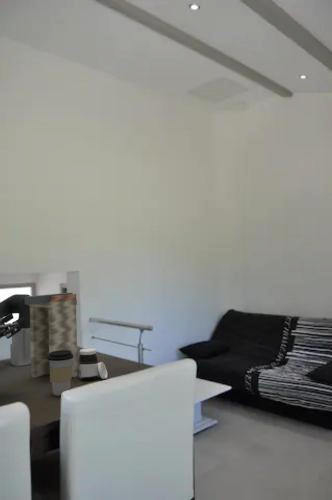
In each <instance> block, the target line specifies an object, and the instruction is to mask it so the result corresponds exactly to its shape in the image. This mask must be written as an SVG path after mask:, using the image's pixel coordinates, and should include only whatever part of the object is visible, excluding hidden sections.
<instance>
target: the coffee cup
mask: <svg viewBox="0 0 332 500" xmlns="http://www.w3.org/2000/svg"><path fill="white" fill-rule="evenodd" d="M73 357H74V356H73V354H72V353H71V351H69V350H59V351H53V352H50V353H49V356H48V358H47V359H48V360H49V363H50V366H49V367H50V374H49V376H50V375H51V381H52V382H51V385H52V393H53V395H54V396H58V397H59V396H60V395H61V393H62V392H63V391H66V390H69V389H70V390H71V385H72V383H71V382H72V378H71V376H72V358H73Z"/></svg>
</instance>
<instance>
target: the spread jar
mask: <svg viewBox="0 0 332 500" xmlns="http://www.w3.org/2000/svg"><path fill="white" fill-rule="evenodd" d="M98 359H99V358H98V355H97V349H96V348H93V347H92V348H91V347H89V348H88V347H87V348H82V349H79V356H78V378H79V379H80V380H81V381H93V379H94V380H96V379H97V378H98V377H99V376H100V377H101V379H102V380H104V379H108V370H107V368H106V365H105V363H104V361H100V362H99V360H98Z"/></svg>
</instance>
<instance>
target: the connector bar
mask: <svg viewBox="0 0 332 500" xmlns="http://www.w3.org/2000/svg"><path fill="white" fill-rule="evenodd" d="M70 294H74V293H73V292H60V293H51V294H41V295H30V296H27V297H25V304H26V305H31V304H40V303H49V302H51V296H60V295H70Z"/></svg>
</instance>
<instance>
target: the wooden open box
mask: <svg viewBox="0 0 332 500" xmlns="http://www.w3.org/2000/svg"><path fill="white" fill-rule="evenodd" d="M29 306H30V335H31V364H30V369H31V370H30V373H31V378H39V377H42V376H46V375H49V382H50V383H52V381H51V375H50V367H49V366H50V363H49V360H48V359H47V358H48V356H49V353H50V352H53V351H59V350H69V351H71V353H72V354H73V356H74V357H73V358H72V376H71V379H72V377H73V378H77V377H79V366H78V334H77V333H78V332H77V329H78V328H77V325H78V324H77V306H78V299H77V293H73V294H70V295H60V296H51V302H49V303H40V304H31V305H29Z"/></svg>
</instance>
